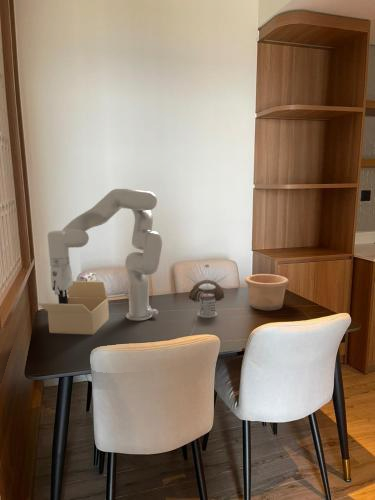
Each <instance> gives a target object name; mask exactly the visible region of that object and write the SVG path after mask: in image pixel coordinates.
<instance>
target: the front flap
mask: <svg viewBox="0 0 375 500" xmlns="http://www.w3.org/2000/svg"><path fill="white" fill-rule="evenodd" d="M37 305H38V306H40V307H41V308H43V310H45V311H46V312H47V313H48V312H66V313H91V312H90V311H89V310H88V309H87V308H86V307H85V306H84V305H83V304H59V303H54V302H53V303H52V302H51V303H50V302H49V303H48V302H38V303H37Z"/></svg>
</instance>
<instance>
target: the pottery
mask: <svg viewBox="0 0 375 500" xmlns="http://www.w3.org/2000/svg"><path fill="white" fill-rule="evenodd" d="M244 280H245V281H244V282H245V283H246V284H247V290H248V291H247V292H248V298H249V305H250V307H252V308H253V309H256V310H260V311H277V310H280V309H282V308H283V306H284V305H283V304H284V300H285V293H286V288H287V285H289V282H290V281H289V279H288V278H287V277H286V276H283V275H277V274H273V273H272V274H271V273H257V274H251V275H248V276H246V277H245V278H244Z"/></svg>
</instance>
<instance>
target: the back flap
mask: <svg viewBox="0 0 375 500" xmlns="http://www.w3.org/2000/svg"><path fill="white" fill-rule="evenodd" d="M67 297H73V298H108V294H107V291H106V287H105V283H104V281H97V280H96V281H79V280H73V285H72V286H71V287H69V288H68V295H67Z"/></svg>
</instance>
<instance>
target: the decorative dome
mask: <svg viewBox="0 0 375 500" xmlns="http://www.w3.org/2000/svg"><path fill="white" fill-rule="evenodd" d="M207 283H208V284H212V285H214V286H215V289H212V290H202V289H200V288H199V286H201V285H203V284H207ZM200 291H201V292H200ZM199 292H200V293H199ZM202 292H204V293H211V294H214V295H215V296H214V297H215V302H216V301H218V302H219V301H220V300H221V299H224V298H225V294H224V292H225V291H224V290H223V288H222V287H221V286H220V284H219V283H217V282H216V281H214V280H210V279H204V280H201V281H199V282H197V283H196V284H194V285H193V287H192V289H191V290H190V292H189V296H190V300H195V301H196V302H199V298H200V294H201V293H202ZM198 293H199V294H198ZM202 294H203V293H202ZM197 296H198V297H197ZM201 300H202V301H203V299H201Z"/></svg>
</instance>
